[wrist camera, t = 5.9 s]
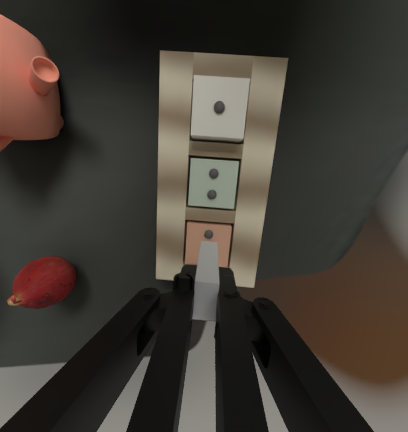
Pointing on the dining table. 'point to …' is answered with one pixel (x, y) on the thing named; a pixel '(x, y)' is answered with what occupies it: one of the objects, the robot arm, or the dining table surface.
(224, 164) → the key two
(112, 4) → the dining table surface
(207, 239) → the key three
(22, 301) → the onion
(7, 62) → the teapot
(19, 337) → the dining table surface
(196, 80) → the key one
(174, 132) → the key board
